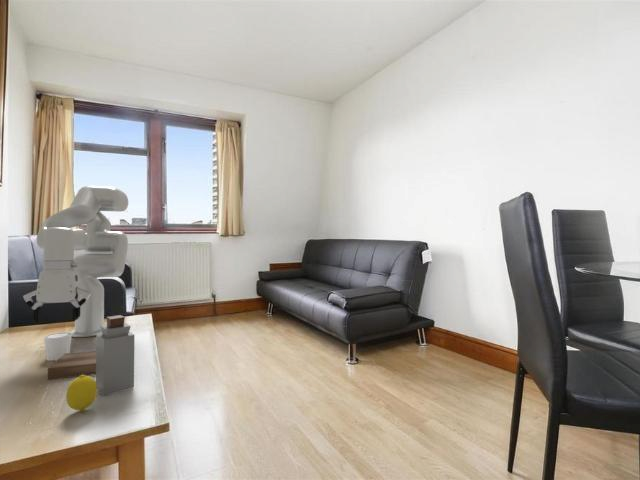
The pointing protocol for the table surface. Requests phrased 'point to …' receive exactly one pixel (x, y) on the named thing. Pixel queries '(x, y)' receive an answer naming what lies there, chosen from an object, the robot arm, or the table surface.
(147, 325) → the table surface
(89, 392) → the lemon
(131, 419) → the table surface
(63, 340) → the white cup
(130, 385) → the perfume bottle
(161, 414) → the table surface
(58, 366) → the walnut plinth
